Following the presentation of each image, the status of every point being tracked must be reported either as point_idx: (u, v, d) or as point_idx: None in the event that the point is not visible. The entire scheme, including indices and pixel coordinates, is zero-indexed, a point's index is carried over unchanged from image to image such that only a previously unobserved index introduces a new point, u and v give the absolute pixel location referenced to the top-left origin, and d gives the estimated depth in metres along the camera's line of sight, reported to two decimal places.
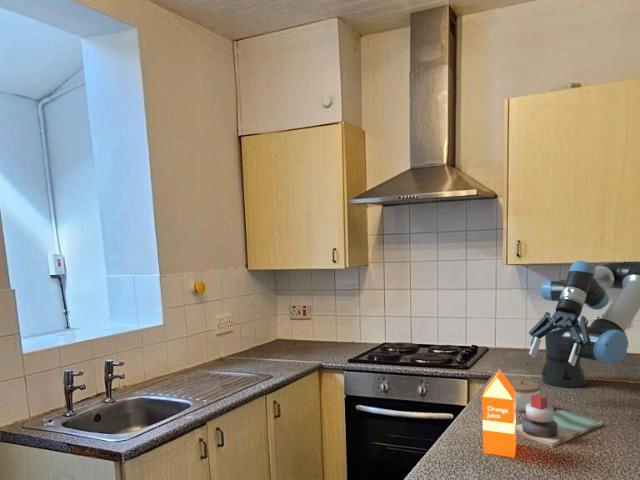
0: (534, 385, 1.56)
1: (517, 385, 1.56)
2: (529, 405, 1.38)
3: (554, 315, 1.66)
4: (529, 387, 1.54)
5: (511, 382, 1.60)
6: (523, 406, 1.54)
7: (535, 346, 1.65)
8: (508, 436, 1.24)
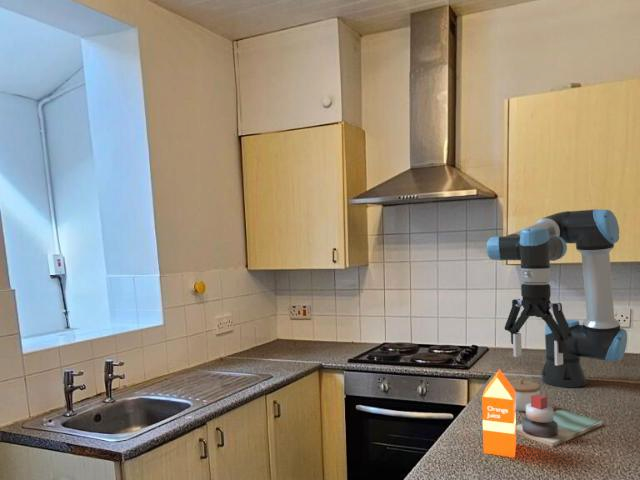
0: (534, 385, 1.56)
1: (517, 385, 1.56)
2: (529, 405, 1.38)
3: (523, 303, 1.39)
4: (529, 387, 1.54)
5: (511, 382, 1.60)
6: (523, 406, 1.54)
7: (517, 344, 1.42)
8: (508, 436, 1.24)
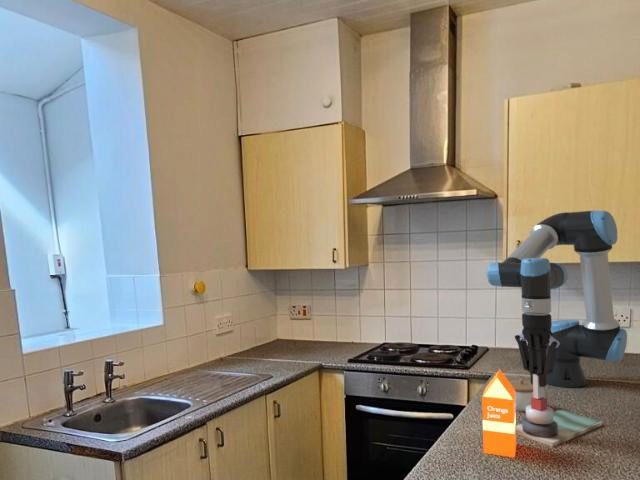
0: None
1: (517, 386, 1.56)
2: (529, 407, 1.38)
3: (524, 333, 1.39)
4: (529, 387, 1.54)
5: (511, 382, 1.60)
6: (523, 406, 1.54)
7: None
8: (508, 436, 1.24)
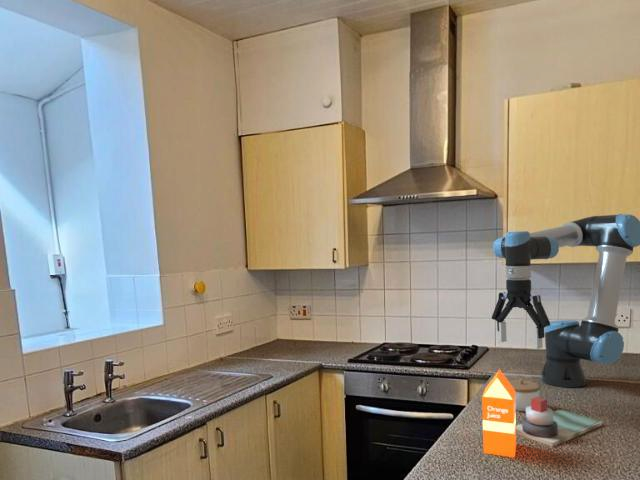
0: (534, 385, 1.56)
1: (517, 386, 1.56)
2: (529, 408, 1.38)
3: (507, 296, 1.61)
4: (529, 387, 1.54)
5: (511, 382, 1.60)
6: (523, 406, 1.54)
7: (502, 331, 1.63)
8: (508, 436, 1.24)
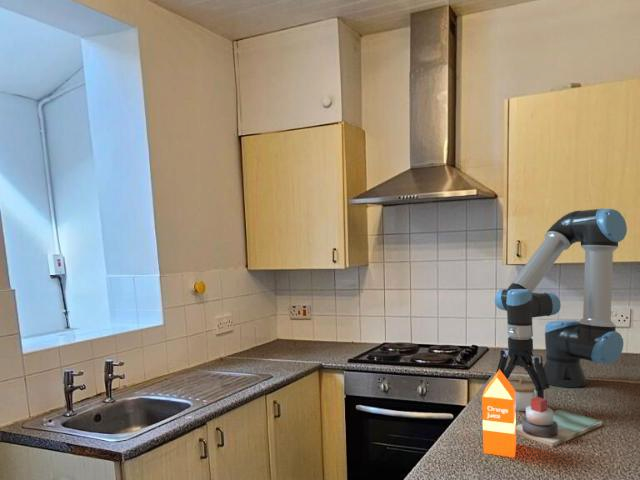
0: (534, 385, 1.56)
1: (517, 385, 1.56)
2: (529, 408, 1.38)
3: (509, 353, 1.61)
4: (529, 387, 1.54)
5: (511, 382, 1.60)
6: (523, 406, 1.54)
7: None
8: (508, 436, 1.24)
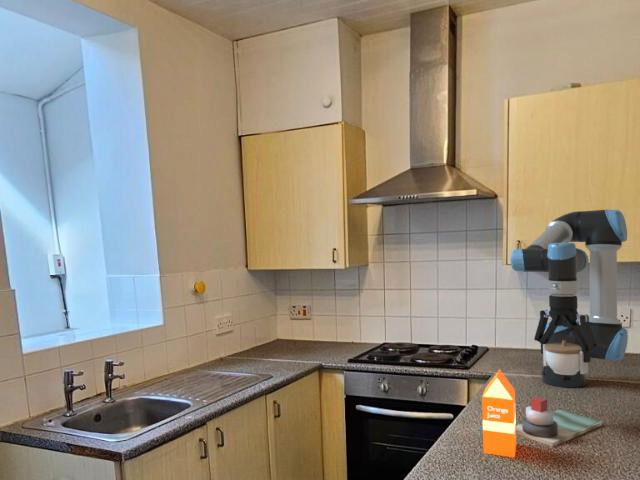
0: (579, 347, 1.43)
1: (560, 347, 1.43)
2: (529, 408, 1.38)
3: (550, 313, 1.47)
4: (574, 348, 1.41)
5: (552, 344, 1.47)
6: (567, 369, 1.41)
7: None
8: (508, 436, 1.24)
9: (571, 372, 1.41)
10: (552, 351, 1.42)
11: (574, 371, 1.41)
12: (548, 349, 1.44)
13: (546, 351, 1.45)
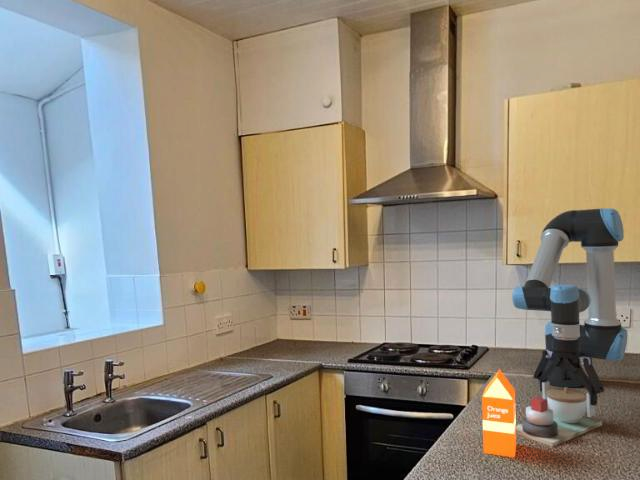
0: (581, 394, 1.43)
1: (562, 395, 1.43)
2: (529, 408, 1.38)
3: (553, 355, 1.47)
4: (576, 397, 1.41)
5: (554, 391, 1.47)
6: (569, 417, 1.41)
7: None
8: (508, 436, 1.24)
9: (573, 420, 1.41)
10: (554, 399, 1.42)
11: (576, 419, 1.41)
12: (550, 396, 1.44)
13: (548, 398, 1.45)
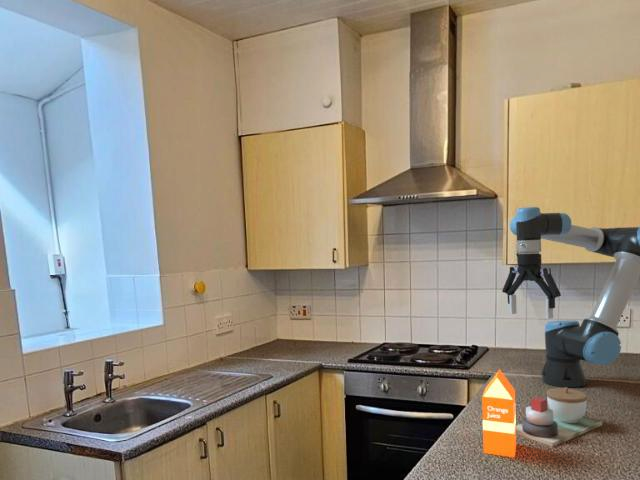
0: (581, 394, 1.43)
1: (562, 395, 1.43)
2: (529, 408, 1.38)
3: (518, 270, 1.67)
4: (576, 397, 1.41)
5: (554, 391, 1.47)
6: (569, 417, 1.41)
7: (513, 304, 1.70)
8: (508, 436, 1.24)
9: (573, 420, 1.41)
10: (554, 399, 1.42)
11: (576, 419, 1.41)
12: (550, 396, 1.44)
13: (548, 398, 1.45)
